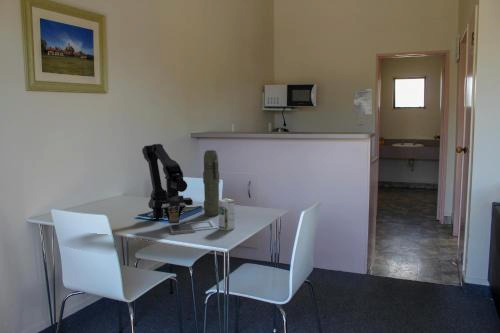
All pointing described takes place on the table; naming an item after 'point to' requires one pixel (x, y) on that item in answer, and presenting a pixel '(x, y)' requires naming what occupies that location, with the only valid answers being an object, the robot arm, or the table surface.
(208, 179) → the thermos
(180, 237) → the table surface
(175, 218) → the stamp
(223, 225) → the syrup box
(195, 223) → the board
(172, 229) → the ink pad
